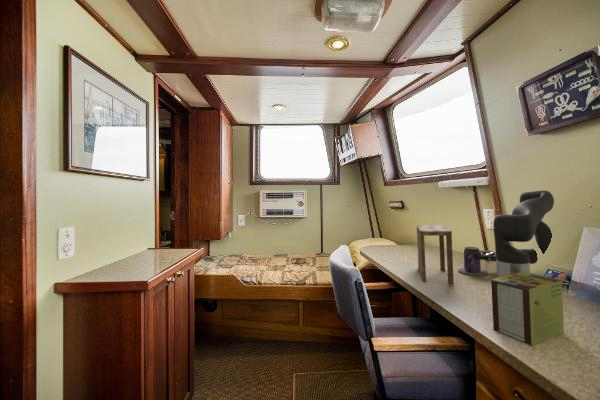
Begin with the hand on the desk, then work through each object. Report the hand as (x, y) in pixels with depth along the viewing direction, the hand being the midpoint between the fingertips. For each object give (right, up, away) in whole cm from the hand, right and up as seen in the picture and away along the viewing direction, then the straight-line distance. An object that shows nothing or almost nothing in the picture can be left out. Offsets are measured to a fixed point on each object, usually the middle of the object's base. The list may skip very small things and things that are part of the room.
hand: (471, 255), depth 141 cm
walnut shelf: (-20, -10, -2) cm, 22 cm away
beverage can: (0, -8, 0) cm, 8 cm away
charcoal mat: (0, -9, 0) cm, 9 cm away
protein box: (-21, -11, -60) cm, 65 cm away
